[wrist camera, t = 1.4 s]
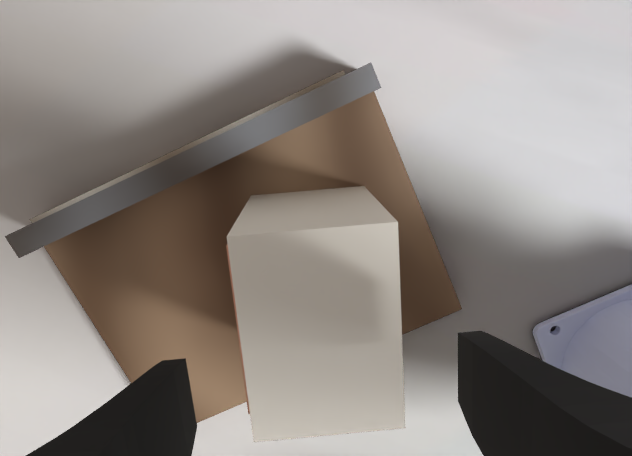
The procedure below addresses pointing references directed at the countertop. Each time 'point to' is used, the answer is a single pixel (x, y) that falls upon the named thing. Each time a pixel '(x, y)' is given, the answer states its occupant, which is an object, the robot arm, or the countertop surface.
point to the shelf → (216, 222)
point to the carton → (318, 313)
